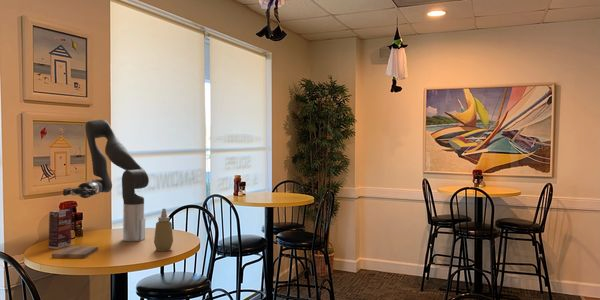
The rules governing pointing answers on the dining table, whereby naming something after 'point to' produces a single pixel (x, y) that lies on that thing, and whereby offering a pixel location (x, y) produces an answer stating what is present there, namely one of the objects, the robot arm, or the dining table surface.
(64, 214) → the supplement box
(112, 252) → the dining table surface
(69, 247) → the walnut board
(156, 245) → the squeeze bottle
